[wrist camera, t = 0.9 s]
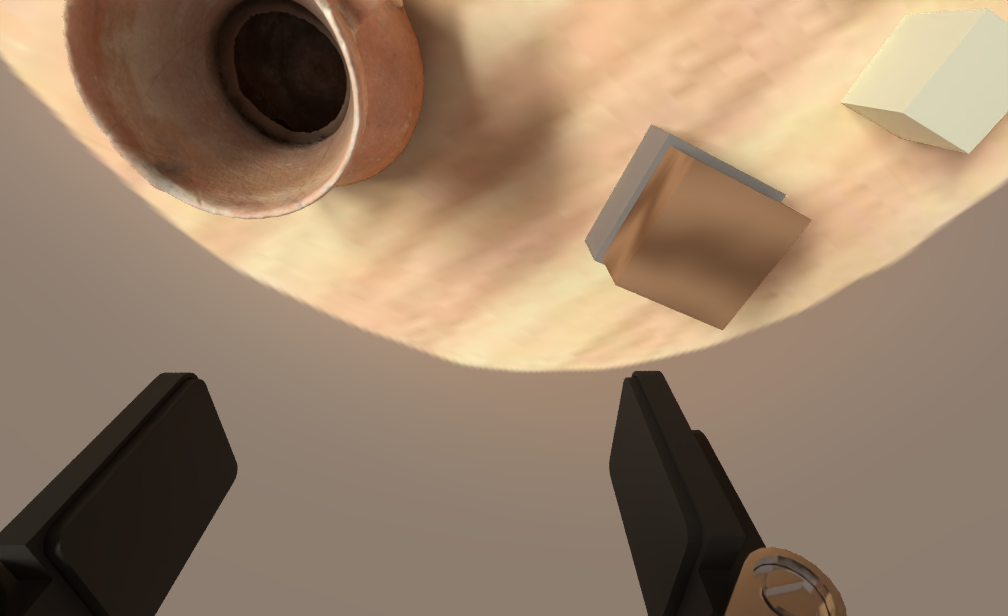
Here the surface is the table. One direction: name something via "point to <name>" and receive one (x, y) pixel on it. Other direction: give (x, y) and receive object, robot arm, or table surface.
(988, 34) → the cream cube
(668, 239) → the tower top block
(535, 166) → the table surface
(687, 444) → the robot arm
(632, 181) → the tower base block
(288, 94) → the ceramic jug
